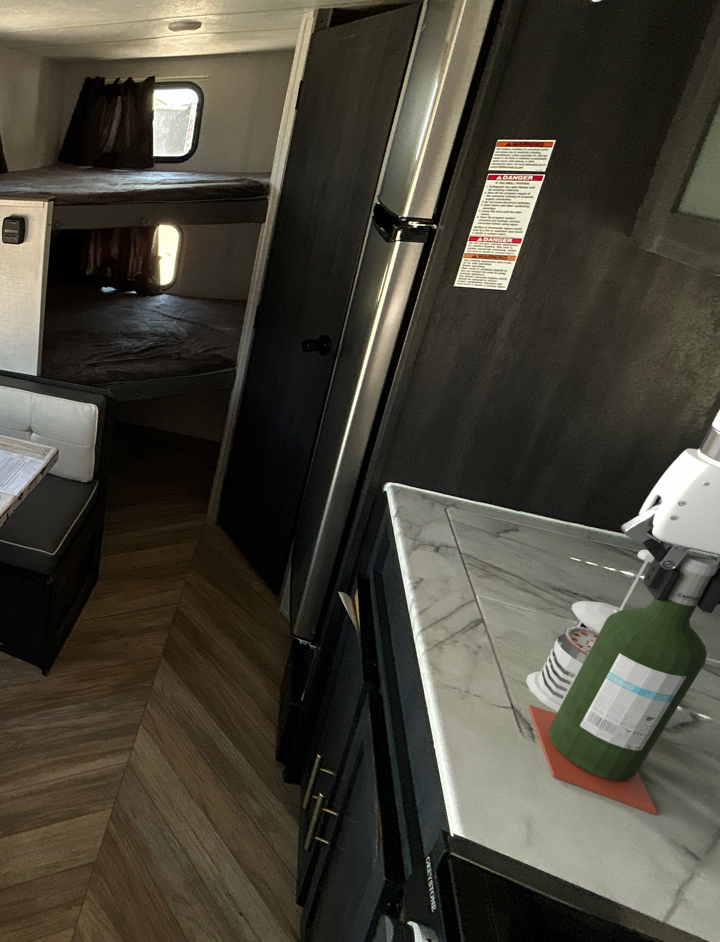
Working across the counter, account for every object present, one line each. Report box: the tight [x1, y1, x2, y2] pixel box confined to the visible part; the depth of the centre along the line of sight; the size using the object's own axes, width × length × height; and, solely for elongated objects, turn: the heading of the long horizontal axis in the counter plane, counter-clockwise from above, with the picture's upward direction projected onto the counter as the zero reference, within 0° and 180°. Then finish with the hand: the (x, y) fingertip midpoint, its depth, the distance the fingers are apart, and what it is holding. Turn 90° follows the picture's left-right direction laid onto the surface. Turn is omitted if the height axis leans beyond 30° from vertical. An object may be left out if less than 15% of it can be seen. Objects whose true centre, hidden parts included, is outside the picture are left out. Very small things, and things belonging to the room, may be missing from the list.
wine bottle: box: [548, 550, 718, 780], centre depth 74 cm, size 8×8×30 cm
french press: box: [525, 549, 654, 714], centre depth 84 cm, size 10×12×25 cm
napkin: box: [528, 704, 658, 815], centre depth 80 cm, size 9×12×1 cm
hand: (677, 597), depth 70 cm, fingers closed on wine bottle, 2 cm apart
